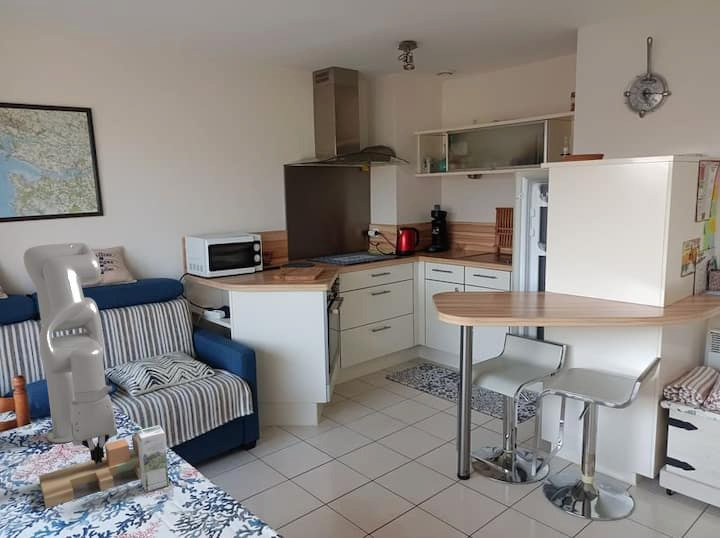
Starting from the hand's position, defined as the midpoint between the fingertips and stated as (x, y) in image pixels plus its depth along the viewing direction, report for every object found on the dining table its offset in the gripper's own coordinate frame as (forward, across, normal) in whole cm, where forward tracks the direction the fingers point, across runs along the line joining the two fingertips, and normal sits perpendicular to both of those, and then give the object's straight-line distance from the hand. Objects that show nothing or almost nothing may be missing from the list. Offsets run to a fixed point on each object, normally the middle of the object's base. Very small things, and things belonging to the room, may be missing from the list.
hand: (98, 461), depth 143 cm
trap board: (+4, +1, +4) cm, 5 cm away
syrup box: (+4, -10, +16) cm, 19 cm away
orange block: (+1, -5, 0) cm, 5 cm away
